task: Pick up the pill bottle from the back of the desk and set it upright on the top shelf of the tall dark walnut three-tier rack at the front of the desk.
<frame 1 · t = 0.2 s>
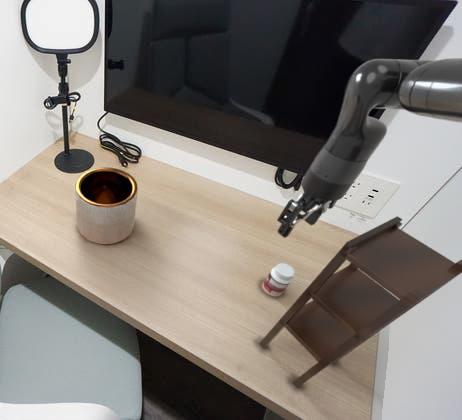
hand: (295, 228, 71), 18 cm above the table, tool pointing down, fingers open, 8 cm apart
rack: (296, 352, 69), on the table
planter: (105, 224, 98), on the table
pill bottle: (271, 289, 81), on the table
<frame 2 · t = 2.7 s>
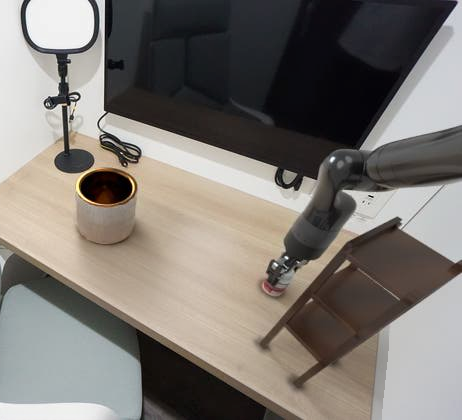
hand: (278, 279, 78), 4 cm above the table, tool pointing down, fingers closed on pill bottle, 4 cm apart
pill bottle: (271, 289, 81), on the table, touching gripper
everything else where it was.
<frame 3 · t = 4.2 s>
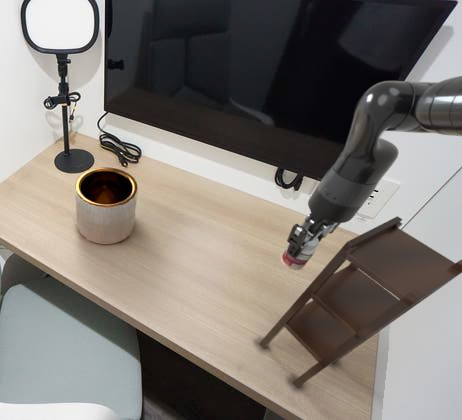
hand: (300, 250, 69), 16 cm above the table, tool pointing down, fingers closed on pill bottle, 4 cm apart
pill bottle: (291, 263, 73), point 11 cm above the table, touching gripper
everything else where it was.
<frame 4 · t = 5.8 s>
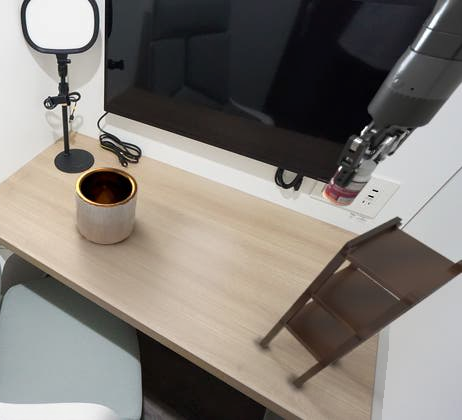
hand: (349, 180, 56), 36 cm above the table, tool pointing down, fingers closed on pill bottle, 4 cm apart
pill bottle: (335, 199, 59), point 31 cm above the table, touching gripper
everything else where it was.
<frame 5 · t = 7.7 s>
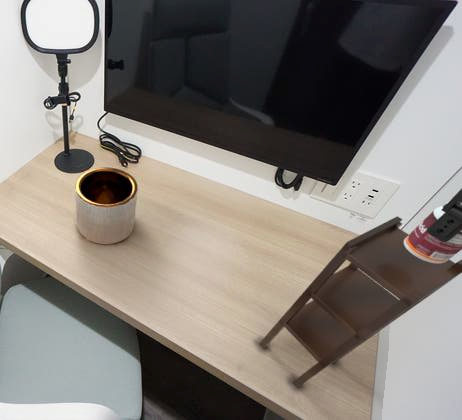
hand: (449, 229, 40), 41 cm above the table, tool pointing down, fingers closed on pill bottle, 4 cm apart
pill bottle: (422, 251, 43), point 37 cm above the table, touching gripper
everything else where it was.
when the fingers open (38 cm above the table, at t = 9.1 s): pill bottle stays where it is, resting on rack.
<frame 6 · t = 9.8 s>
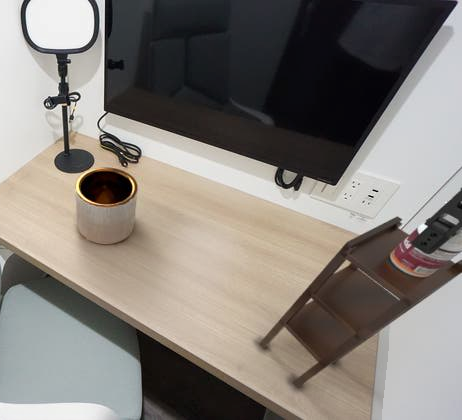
hand: (439, 237, 41), 40 cm above the table, tool pointing down, fingers open, 8 cm apart
pill bottle: (408, 265, 45), point 34 cm above the table, touching rack
everything else where it was.
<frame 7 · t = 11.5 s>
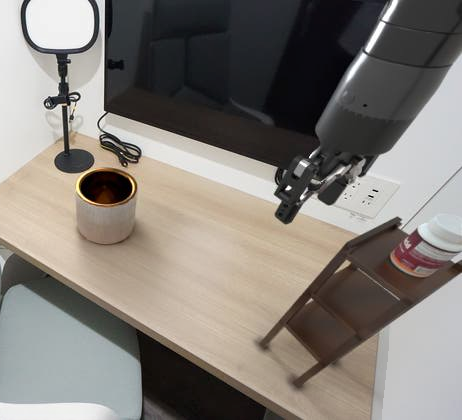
hand: (303, 210, 44), 40 cm above the table, tool pointing down, fingers open, 8 cm apart
nothing on the table moved.
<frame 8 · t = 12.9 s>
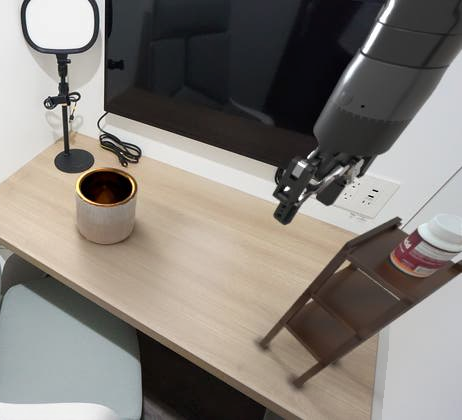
hand: (302, 211, 44), 40 cm above the table, tool pointing down, fingers open, 8 cm apart
nothing on the table moved.
at the end: pill bottle inside the target area on the rack (1.0 cm from its centre), point 33.8 cm above the rack's base; pill bottle tilted 0°; the gripper is holding nothing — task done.
